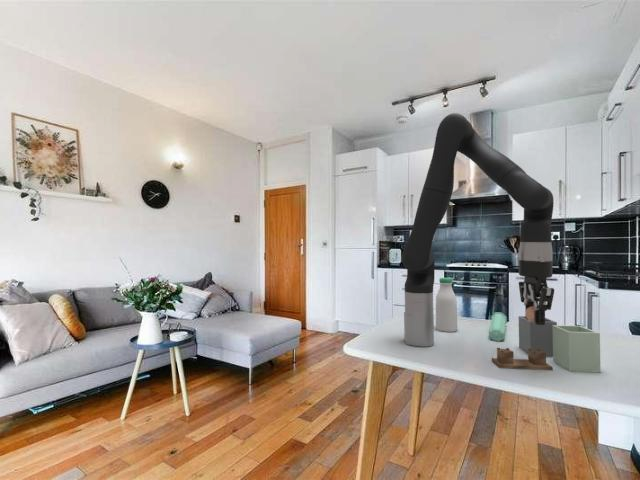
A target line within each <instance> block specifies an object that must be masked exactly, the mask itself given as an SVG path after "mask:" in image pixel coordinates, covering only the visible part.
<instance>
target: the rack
mask: <svg viewBox="0 0 640 480" xmlns="http://www.w3.org/2000/svg"><path fill="white" fill-rule="evenodd" d="M527 356H528V357H527V359H523V358H521V359H520V358H514V351H513V350H511V349H510V348H509V347H506V348H500V347H496V358H495V357H492V358H491V361H492V363H494V364H495V366H496V367H498V368H499V369H500V368H501V369H519V370H520V369H521V370H539V371H540V370H542V371H543V370H544V371H554V369H553V366H552V365H550V364H549V363H547V356H546V353H545V352H542V351H541V350H540V349H537V350H531V349H528V353H527Z"/></svg>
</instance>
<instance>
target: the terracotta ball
mask: <svg viewBox="0 0 640 480" xmlns="http://www.w3.org/2000/svg"><path fill="white" fill-rule="evenodd" d="M524 312H525V311H524ZM525 315H526V318H527V319H528V320H529V321H531V322H534V317H535V307H534V306H531V307H529V308H527V309H526V312H525V313H524V316H525Z"/></svg>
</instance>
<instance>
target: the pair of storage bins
mask: <svg viewBox="0 0 640 480" xmlns="http://www.w3.org/2000/svg"><path fill="white" fill-rule="evenodd" d="M518 348H519V349H520V350H521V351H523V352H525V353H526V354H528V349H531V350H537V349H540V350H541V351H542V352H545V353H546V357H552V361H553V362H554V363H556V364H558V365H559V366H561V367H562V368H564V369H566V370H567V371H569V372H586V373H601V371H602V369H601V367H602V366H601V334H600V332H597V331H595V330H592V329H589V328H587V327H584V326H582V325H559V324H558V323H557V321H555V320H552V319H550V318H548V317H545V324H544V325H537V324H535V323H534V322H531V321H529V320H527V319H526V318H525V315H524V316H523V315H519V316H518Z"/></svg>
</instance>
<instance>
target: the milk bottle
mask: <svg viewBox="0 0 640 480" xmlns="http://www.w3.org/2000/svg"><path fill="white" fill-rule="evenodd" d="M452 285H453V278H452V277H451V278H450V277H440V278H439V290H438V292H437V294H436V296H435V329H436V330H437V331H440V332H446V333H453V332H457V331H458V303H457V302H458V301H457V297H456V294H455V292H454V290H453V287H452Z"/></svg>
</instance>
